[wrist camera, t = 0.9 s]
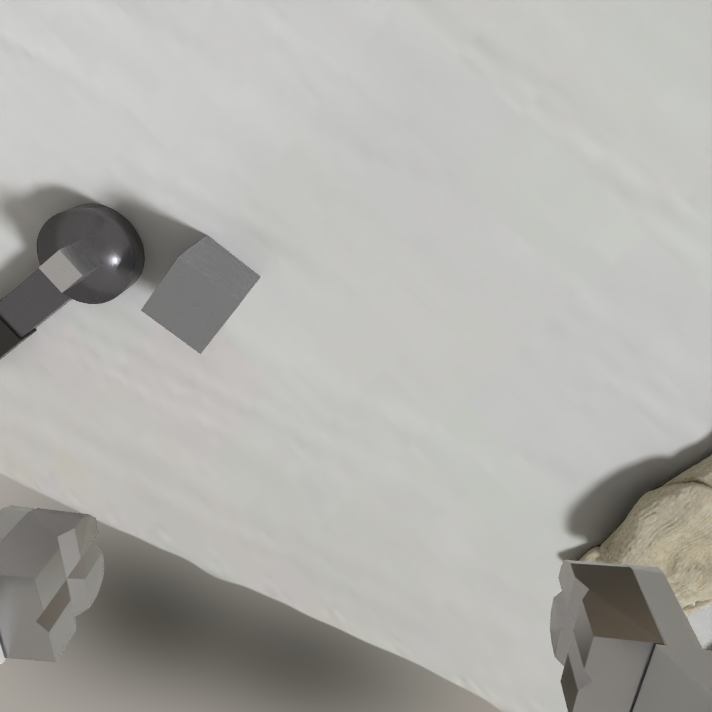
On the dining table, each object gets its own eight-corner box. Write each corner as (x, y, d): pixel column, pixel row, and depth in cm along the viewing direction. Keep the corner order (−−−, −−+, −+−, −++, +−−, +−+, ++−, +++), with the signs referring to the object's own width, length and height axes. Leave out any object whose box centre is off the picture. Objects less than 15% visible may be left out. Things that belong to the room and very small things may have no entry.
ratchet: (-56, 319, 51) (-109, 346, 45) (98, 185, 45) (56, 199, 39) (7, 381, 53) (-37, 415, 47) (162, 261, 47) (131, 284, 42)
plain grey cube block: (172, 283, 47) (140, 310, 42) (206, 234, 45) (178, 256, 40) (224, 322, 48) (200, 353, 43) (260, 276, 46) (239, 303, 41)
